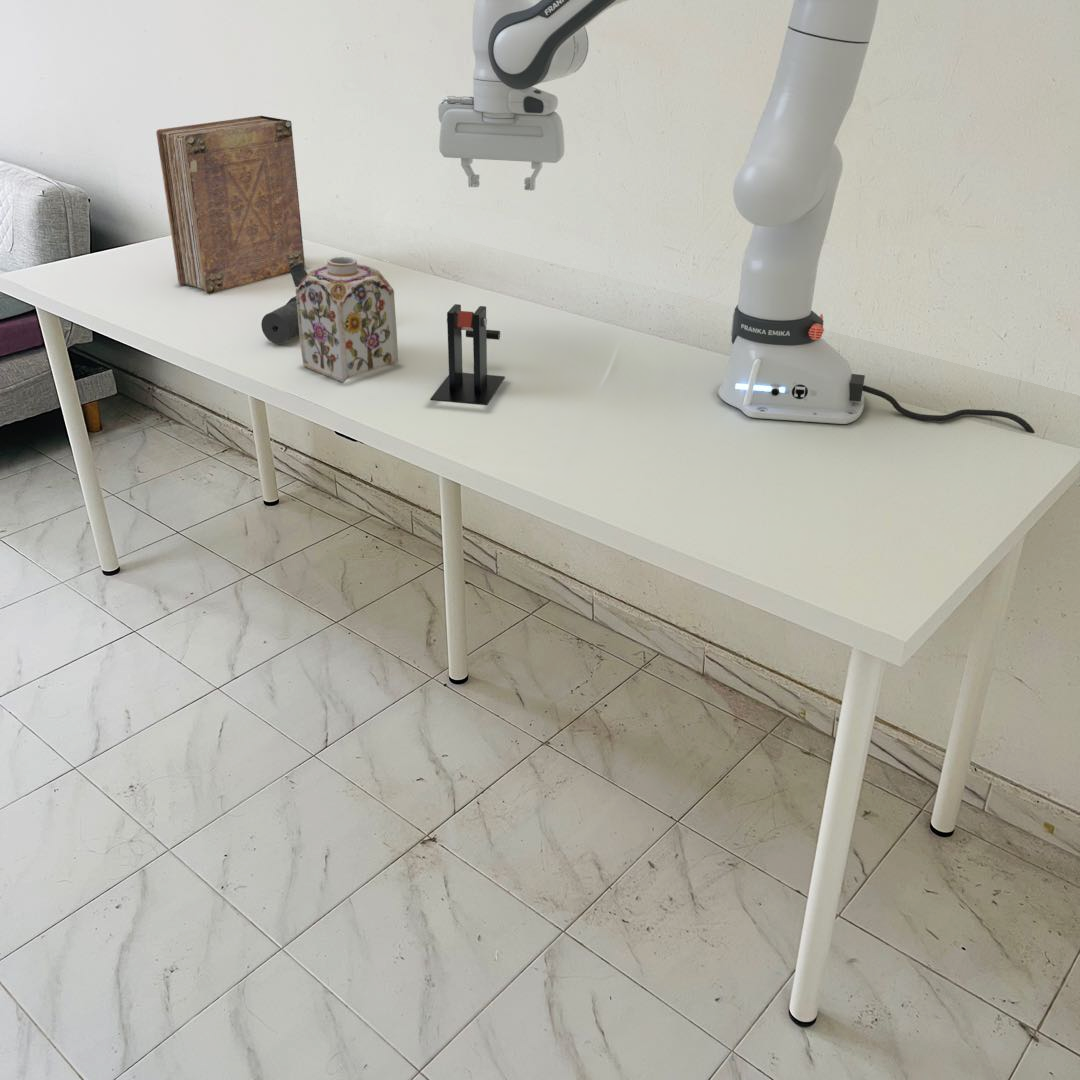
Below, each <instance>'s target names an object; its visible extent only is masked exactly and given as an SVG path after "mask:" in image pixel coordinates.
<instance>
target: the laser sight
mask: <svg viewBox="0 0 1080 1080" xmlns="http://www.w3.org/2000/svg"><path fill="white" fill-rule="evenodd" d="M302 264H303V262H299V263H297V264H295V265H293V266H291V267H289V269H290V272H289V273H290V275H291V278H292V281H293V284H294V287H295V288H298V286H299V284H300V283H301V282H302V280H303V279H304V278H305V277H306V276H307V274H308V272H307V270H306V269H305V268H304V267H303V265H302ZM261 331H262V333H263V335H264V336H265V338H266V339H267V340H268V341H269V342H270V343H273V344H275V345H282V344H284V343H286V342H288V341H290V340H291V339H294V338H295V337H297V336H300V334H299V323H298V311H297V300H296V295H295V296H293V297H291V298H290V299H289V300H288V301H287V302H286V304H284V305H283V306H280V307H278V308H276V309H274V310H273V311H271V312H268V313H266V314H265V315H264V316H263V318H262V319H261Z"/></svg>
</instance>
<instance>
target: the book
mask: <svg viewBox="0 0 1080 1080" xmlns="http://www.w3.org/2000/svg"><path fill="white" fill-rule="evenodd" d="M292 125H293V123H292V121H291V120H288V119H283V118H276V117H272V116H271V117H270V116H265V115H256V116H248V117H242V118H234V119H227V120H226V119H225V120H217V121H211V122H204V123H197V124H189V125H183V126H182V125H181V126H175V127H168V128H159V129H157V130H156V132H155V133H156V141H157V147H158V153H159V154H158V155H159V160H160V168H161V173H162V180H163V187H164V193H165V200H166V207H167V213H168V221H169V228H170V234H171V242H172V248H173V254H174V262H175V268H176V276H177V282H178V285H179V286H180V287H182V286H186V285H189V286H191V287H194V288H197V289H201V290H204V292H205V294H207V295H208V294H214V293H217V292H222V291H224V290H229V289H232V288H236V287H241V286H243V285H247V284H251V283H255V282H258V281H262V280H265V279H269V278H272V277H277V276H280V275H284V274H288V273H291V272H290V269H289V267H291V266H293V265H295V264H297V263H299V262H303V264H302V265H303V267H304V269H305V268H306V265H305V264H306V263H305V252H304V241H303V232H302V222H301V209H300V201H299V190H298V189H299V188H298V178H297V167H296V157H295V147H294V137H293V126H292Z"/></svg>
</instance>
